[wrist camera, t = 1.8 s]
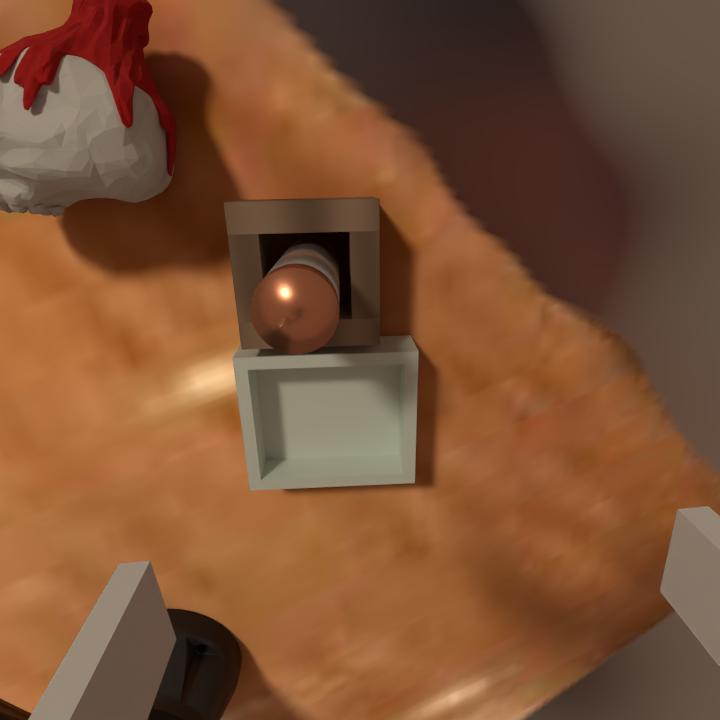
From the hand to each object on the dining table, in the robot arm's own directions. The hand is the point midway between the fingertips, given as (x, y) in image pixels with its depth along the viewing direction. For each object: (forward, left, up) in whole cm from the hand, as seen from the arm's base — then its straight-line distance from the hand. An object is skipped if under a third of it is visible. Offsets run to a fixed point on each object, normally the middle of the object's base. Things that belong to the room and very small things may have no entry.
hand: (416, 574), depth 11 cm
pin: (-4, +3, -27) cm, 28 cm away
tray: (-3, -9, -27) cm, 29 cm away
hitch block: (-4, +3, -27) cm, 28 cm away
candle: (-17, +13, -27) cm, 35 cm away
